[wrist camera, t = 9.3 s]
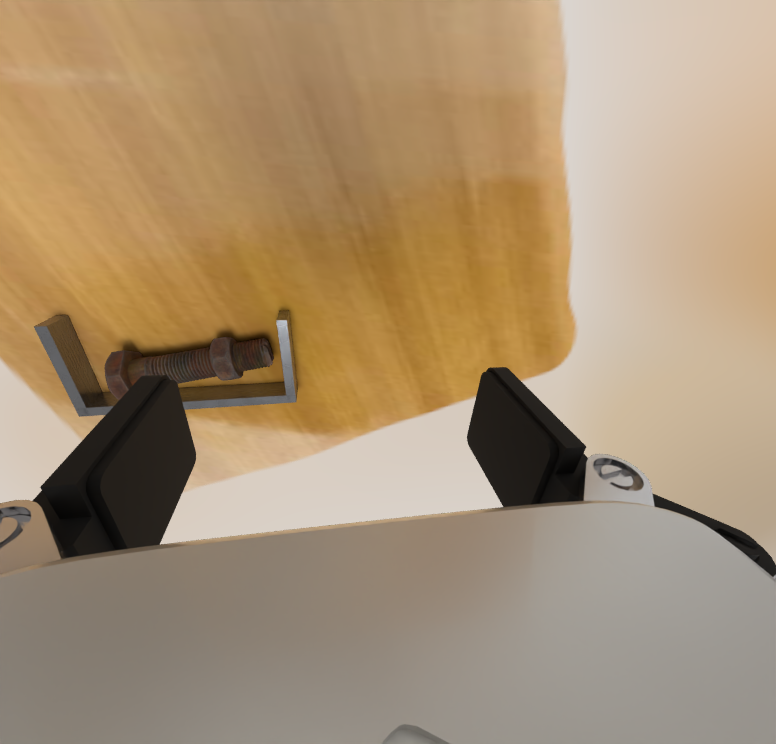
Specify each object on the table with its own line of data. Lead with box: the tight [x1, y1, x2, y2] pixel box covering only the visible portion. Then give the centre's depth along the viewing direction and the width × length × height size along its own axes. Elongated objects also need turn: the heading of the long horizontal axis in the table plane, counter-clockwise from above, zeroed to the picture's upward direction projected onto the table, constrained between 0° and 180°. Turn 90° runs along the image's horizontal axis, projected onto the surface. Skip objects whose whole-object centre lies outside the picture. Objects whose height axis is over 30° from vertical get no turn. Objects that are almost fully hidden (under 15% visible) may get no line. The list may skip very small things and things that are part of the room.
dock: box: [34, 310, 298, 416], centre depth 36 cm, size 10×22×3 cm, turn 88°
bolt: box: [105, 337, 274, 400], centre depth 36 cm, size 6×5×15 cm
